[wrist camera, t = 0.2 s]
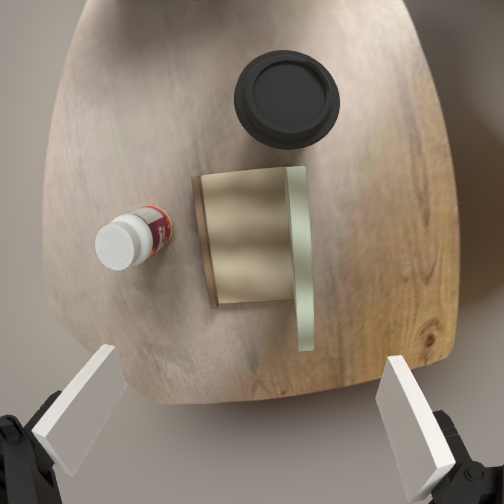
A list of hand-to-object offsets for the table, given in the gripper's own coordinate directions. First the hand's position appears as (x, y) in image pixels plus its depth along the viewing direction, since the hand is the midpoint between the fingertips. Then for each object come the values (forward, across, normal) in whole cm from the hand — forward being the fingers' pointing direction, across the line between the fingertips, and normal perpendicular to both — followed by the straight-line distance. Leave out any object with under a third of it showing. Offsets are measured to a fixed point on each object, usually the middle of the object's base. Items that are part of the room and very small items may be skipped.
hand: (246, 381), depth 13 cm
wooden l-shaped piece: (+27, -2, 0) cm, 27 cm away
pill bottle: (+28, -16, +2) cm, 32 cm away
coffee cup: (+28, +2, +15) cm, 32 cm away
